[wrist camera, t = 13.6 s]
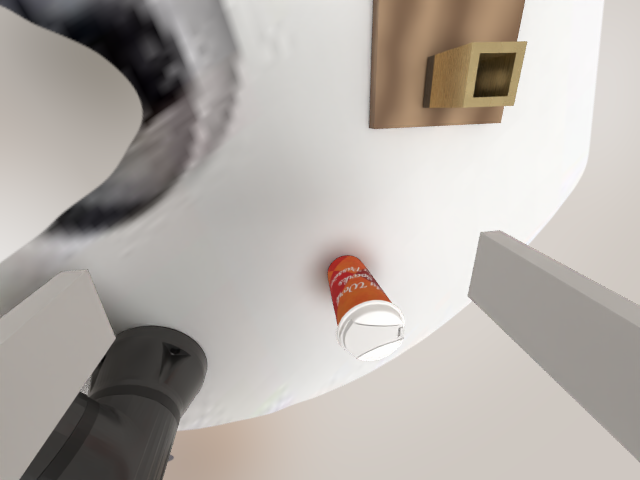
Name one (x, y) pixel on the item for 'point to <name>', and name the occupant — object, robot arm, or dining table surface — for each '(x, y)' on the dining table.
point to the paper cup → (363, 311)
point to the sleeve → (474, 75)
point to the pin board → (424, 41)
